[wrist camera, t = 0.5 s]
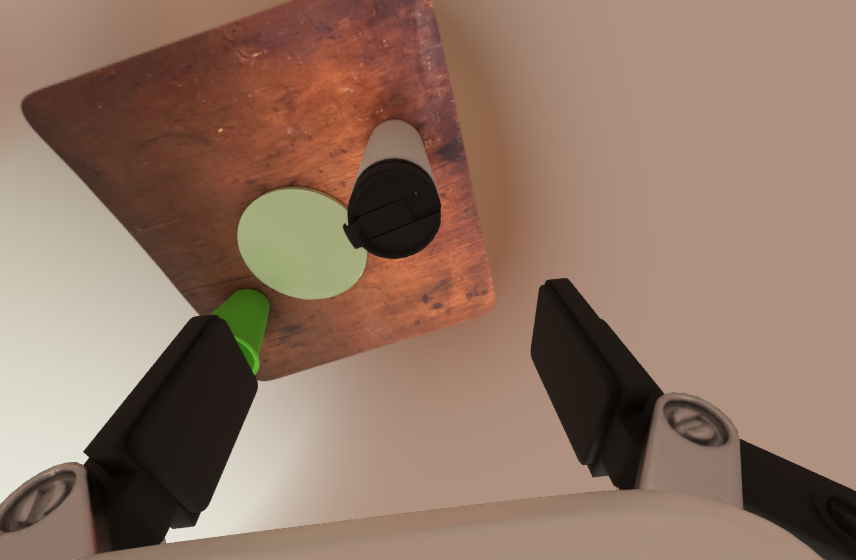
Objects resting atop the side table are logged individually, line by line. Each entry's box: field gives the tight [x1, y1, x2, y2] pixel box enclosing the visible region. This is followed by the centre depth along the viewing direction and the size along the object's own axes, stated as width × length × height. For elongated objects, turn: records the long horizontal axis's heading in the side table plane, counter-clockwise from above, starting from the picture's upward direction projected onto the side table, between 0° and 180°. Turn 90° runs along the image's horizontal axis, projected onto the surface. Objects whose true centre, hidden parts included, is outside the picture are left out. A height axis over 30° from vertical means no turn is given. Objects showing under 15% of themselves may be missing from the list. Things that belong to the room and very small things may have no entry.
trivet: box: [237, 186, 368, 299], centre depth 43 cm, size 16×16×1 cm
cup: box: [211, 289, 270, 375], centre depth 43 cm, size 9×9×11 cm
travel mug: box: [343, 119, 441, 259], centre depth 29 cm, size 6×7×20 cm
